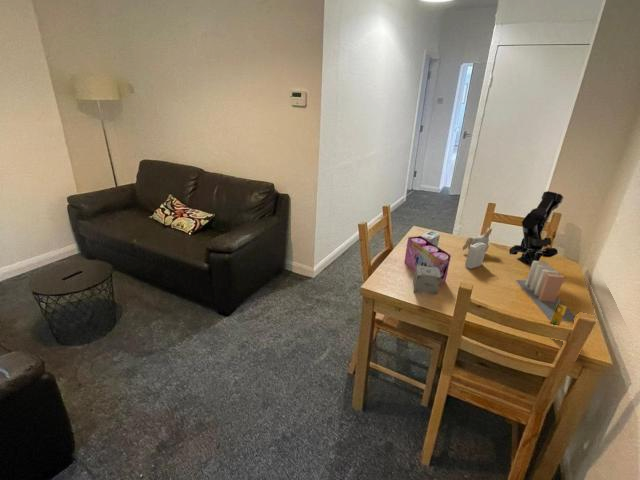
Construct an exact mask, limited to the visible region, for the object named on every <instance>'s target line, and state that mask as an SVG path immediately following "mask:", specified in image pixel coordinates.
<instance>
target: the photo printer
mask: <svg viewBox="0 0 640 480" xmlns="http://www.w3.org/2000/svg"><path fill="white" fill-rule="evenodd" d="M486 248H487V246H486V244H484V243H476V244H474V245H472V244H471V245H470V248H469V250H468V252H467V255H466V260H465V264H464V266H465V268H467V269H469V270H470V269H474V268H477V267H481V266H482V264H483V261H484V259H485V258H484V257H485V254H486V253H485V251H486ZM486 252H487V251H486Z"/></svg>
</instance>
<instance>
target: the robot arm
mask: <svg viewBox="0 0 640 480" xmlns="http://www.w3.org/2000/svg"><path fill="white" fill-rule="evenodd" d="M563 200H564V196H563V195H562V193H558V192H554V191H543V194H542V196H541V200H540V202H539V204H538V205H537V207H536V208H533V209H531V211H530V212H528V213H527V214H526V216H525V217H524V218H523V219H522V221H521V227H522V234H523V238H522V240H521V243H520V245H517V244H515V245H513V246H512V247H510V248H509V251H508V253H509V255H512V256H513V255H514V256H515V255H517V254H518V253H521V256H520V257H518V258H517V260H518V261H520V262H522V263H526V265H530V266H531V265H532V262H533V261H541V257H543V258H551V257H554V256H556V255H558V254H559V253H558V249H557V248H556V247H548V246H551V245H552V238H551V237H545V238H542V233H543V231H544V229H545V227H546V225H547V223H548V222H549V221H548V220H549V218H550V216H551V214H552V212H553V211H554V210H556V209H558V208H559V205H560V204H562V202H563ZM545 247H546V248H545ZM543 248H544V249H543Z"/></svg>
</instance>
